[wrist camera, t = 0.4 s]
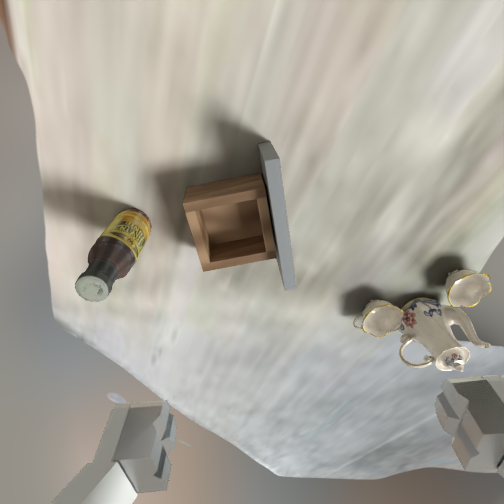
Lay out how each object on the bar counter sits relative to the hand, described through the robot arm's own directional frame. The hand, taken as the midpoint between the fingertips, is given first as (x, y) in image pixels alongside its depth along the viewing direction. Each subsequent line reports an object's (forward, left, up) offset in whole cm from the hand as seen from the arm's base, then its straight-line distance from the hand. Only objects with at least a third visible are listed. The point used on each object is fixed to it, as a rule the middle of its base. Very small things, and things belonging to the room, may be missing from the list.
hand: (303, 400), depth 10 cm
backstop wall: (+15, +3, -47) cm, 50 cm away
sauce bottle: (+13, -21, -48) cm, 54 cm away
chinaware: (+43, +31, -48) cm, 71 cm away
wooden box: (+15, -4, -47) cm, 50 cm away
